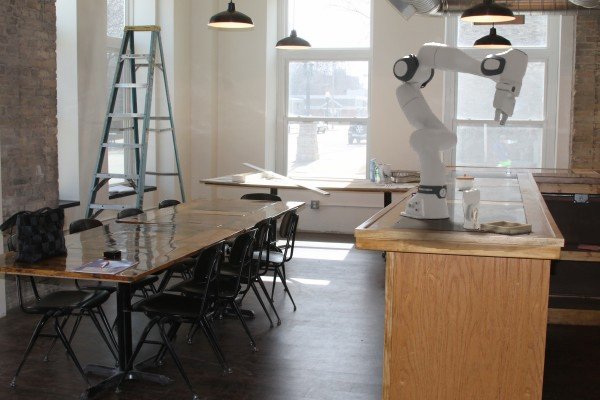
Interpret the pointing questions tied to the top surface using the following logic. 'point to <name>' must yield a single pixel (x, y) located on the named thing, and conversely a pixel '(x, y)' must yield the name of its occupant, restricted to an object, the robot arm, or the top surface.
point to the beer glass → (471, 208)
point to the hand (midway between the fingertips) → (499, 123)
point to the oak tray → (506, 227)
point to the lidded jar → (464, 182)
